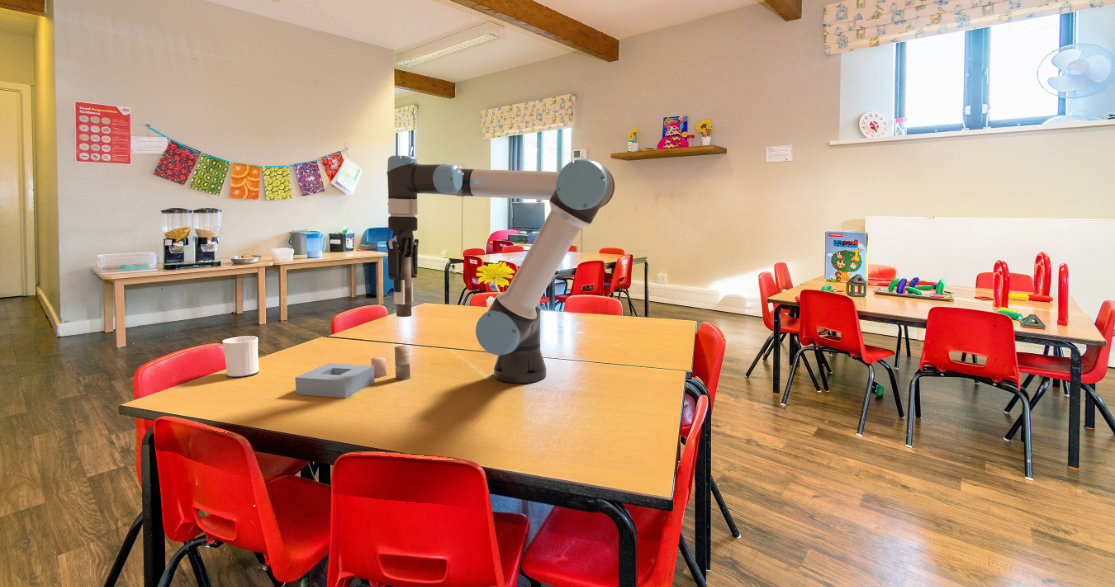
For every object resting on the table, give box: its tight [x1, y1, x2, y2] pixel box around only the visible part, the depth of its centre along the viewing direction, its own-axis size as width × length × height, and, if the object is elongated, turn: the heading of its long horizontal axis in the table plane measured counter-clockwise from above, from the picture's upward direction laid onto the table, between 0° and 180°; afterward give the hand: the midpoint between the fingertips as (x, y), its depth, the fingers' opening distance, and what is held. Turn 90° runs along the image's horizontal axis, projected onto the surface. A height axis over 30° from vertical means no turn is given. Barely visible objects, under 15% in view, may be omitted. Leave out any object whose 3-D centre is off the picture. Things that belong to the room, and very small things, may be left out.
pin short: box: [370, 356, 387, 378], centre depth 157 cm, size 4×4×5 cm
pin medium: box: [394, 345, 411, 381], centre depth 154 cm, size 4×4×9 cm
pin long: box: [395, 257, 412, 318], centre depth 147 cm, size 4×4×16 cm
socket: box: [294, 362, 375, 399], centre depth 145 cm, size 14×14×4 cm
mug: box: [222, 335, 260, 379], centre depth 157 cm, size 11×9×10 cm
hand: (403, 302), depth 148 cm, fingers closed on pin long, 4 cm apart
